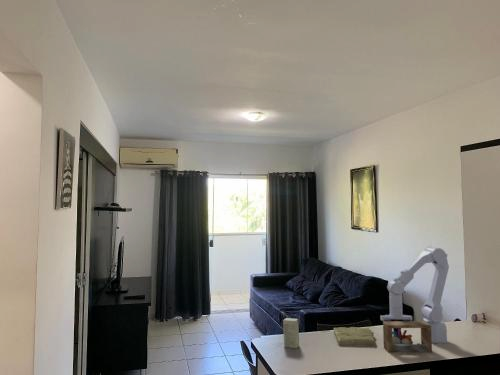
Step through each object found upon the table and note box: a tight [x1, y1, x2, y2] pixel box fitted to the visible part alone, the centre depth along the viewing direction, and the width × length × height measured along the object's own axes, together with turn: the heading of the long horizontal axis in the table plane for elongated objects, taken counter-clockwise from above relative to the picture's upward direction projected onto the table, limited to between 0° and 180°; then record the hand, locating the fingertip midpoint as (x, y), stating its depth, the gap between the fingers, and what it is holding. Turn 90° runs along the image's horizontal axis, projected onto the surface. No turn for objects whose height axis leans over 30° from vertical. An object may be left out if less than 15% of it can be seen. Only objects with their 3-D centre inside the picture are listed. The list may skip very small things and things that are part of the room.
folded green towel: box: [333, 326, 377, 347], centre depth 184 cm, size 19×20×4 cm
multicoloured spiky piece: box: [392, 329, 414, 344], centre depth 175 cm, size 8×10×7 cm
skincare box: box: [282, 317, 300, 349], centre depth 175 cm, size 6×4×12 cm
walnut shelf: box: [382, 320, 433, 354], centre depth 169 cm, size 19×7×12 cm, turn 90°
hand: (396, 335), depth 181 cm, fingers closed
